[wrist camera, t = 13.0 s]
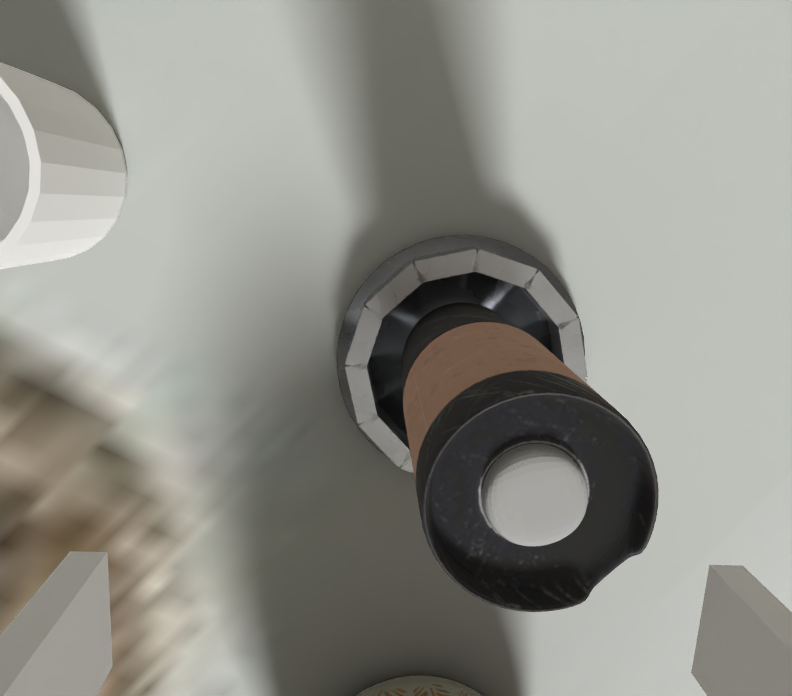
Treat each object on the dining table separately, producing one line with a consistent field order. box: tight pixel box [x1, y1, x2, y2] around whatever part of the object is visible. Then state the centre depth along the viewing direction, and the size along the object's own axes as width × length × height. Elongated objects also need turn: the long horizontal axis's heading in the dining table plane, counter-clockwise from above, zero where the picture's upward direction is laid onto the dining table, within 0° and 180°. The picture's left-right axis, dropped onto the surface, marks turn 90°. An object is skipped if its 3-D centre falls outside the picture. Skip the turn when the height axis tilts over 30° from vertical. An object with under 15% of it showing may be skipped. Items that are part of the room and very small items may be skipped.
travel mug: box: [402, 302, 658, 612], centre depth 30 cm, size 8×8×20 cm
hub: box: [337, 236, 587, 473], centre depth 39 cm, size 15×15×4 cm
